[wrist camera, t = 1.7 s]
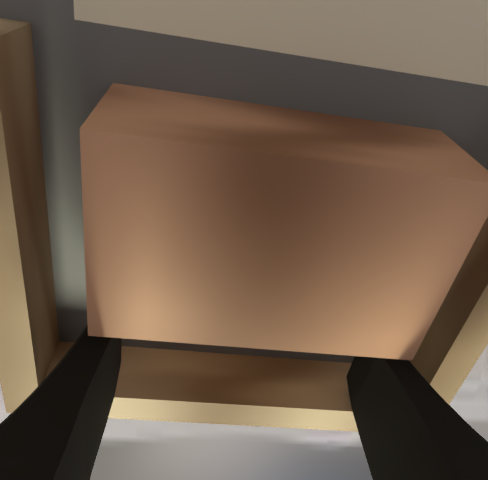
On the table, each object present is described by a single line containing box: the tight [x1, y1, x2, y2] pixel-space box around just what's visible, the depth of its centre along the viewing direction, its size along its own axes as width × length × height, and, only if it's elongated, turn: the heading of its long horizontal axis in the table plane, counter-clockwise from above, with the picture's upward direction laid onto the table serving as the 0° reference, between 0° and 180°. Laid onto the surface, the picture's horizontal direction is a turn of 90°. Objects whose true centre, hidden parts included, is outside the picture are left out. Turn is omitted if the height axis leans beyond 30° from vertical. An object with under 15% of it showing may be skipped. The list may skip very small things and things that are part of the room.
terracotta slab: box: [80, 83, 488, 360], centre depth 11 cm, size 8×5×3 cm, turn 81°
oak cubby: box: [0, 18, 488, 431], centre depth 12 cm, size 13×10×2 cm
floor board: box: [0, 0, 488, 363], centre depth 12 cm, size 15×16×1 cm
